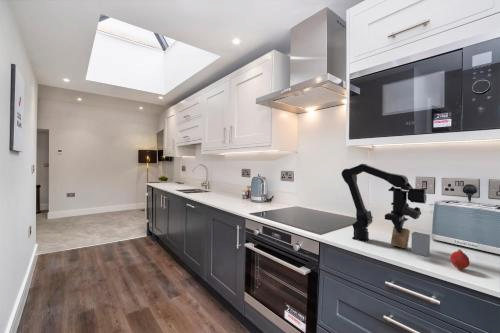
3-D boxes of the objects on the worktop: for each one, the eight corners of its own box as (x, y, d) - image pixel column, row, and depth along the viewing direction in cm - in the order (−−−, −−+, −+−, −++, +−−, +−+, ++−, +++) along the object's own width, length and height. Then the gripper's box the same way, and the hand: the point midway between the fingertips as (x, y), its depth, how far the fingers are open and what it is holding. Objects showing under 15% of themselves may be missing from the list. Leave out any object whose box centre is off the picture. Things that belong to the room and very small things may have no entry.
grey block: (411, 252, 111) (411, 233, 111) (414, 250, 113) (414, 231, 113) (426, 256, 106) (427, 236, 106) (429, 254, 109) (430, 234, 109)
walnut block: (390, 244, 118) (393, 226, 120) (393, 245, 120) (396, 227, 122) (404, 247, 113) (407, 228, 115) (407, 249, 116) (409, 230, 118)
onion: (449, 265, 98) (450, 245, 98) (468, 269, 94) (469, 249, 94) (449, 269, 93) (450, 249, 93) (469, 274, 90) (470, 253, 89)
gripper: (411, 205, 104) (410, 240, 105) (425, 201, 116) (425, 233, 116) (384, 201, 113) (383, 234, 113) (400, 198, 125) (399, 228, 125)
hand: (398, 232), depth 117 cm, fingers closed
